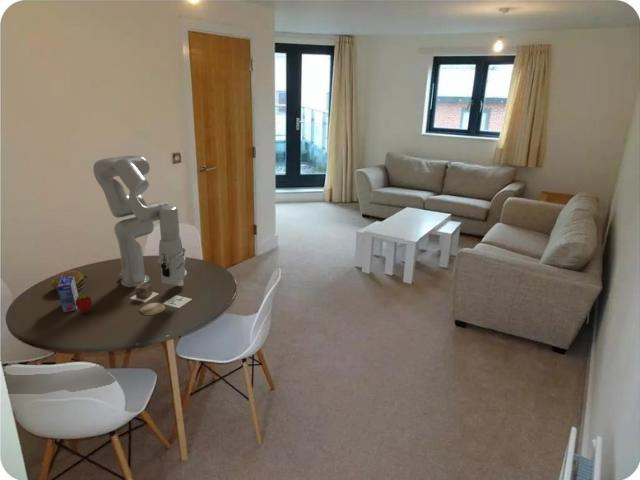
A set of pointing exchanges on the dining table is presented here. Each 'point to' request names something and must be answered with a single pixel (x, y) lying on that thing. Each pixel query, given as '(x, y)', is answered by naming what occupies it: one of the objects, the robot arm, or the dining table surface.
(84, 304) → the strawberry
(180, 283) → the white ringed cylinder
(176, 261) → the supplement box
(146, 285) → the walnut block
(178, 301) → the code tile
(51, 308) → the dining table surface
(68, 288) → the ink cartridge box
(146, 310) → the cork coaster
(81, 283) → the food
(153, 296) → the code tile
